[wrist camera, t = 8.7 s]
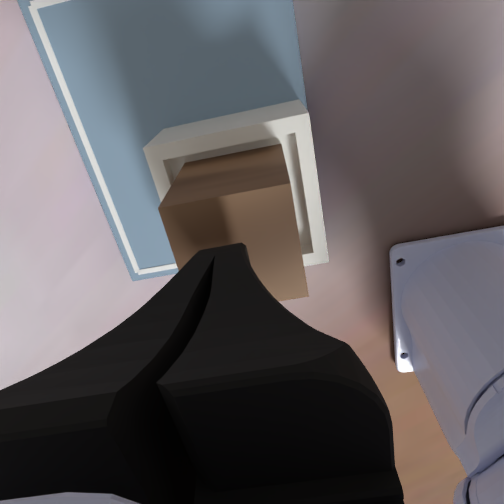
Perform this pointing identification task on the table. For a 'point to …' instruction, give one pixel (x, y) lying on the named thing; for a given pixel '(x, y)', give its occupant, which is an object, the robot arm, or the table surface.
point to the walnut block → (239, 215)
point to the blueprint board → (176, 104)
